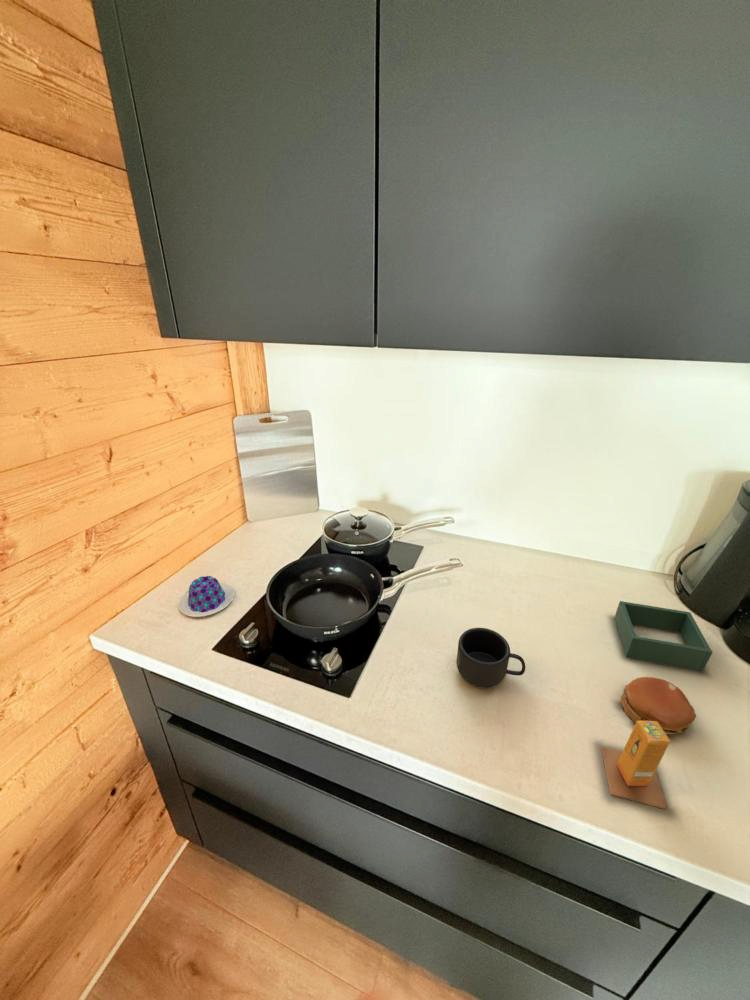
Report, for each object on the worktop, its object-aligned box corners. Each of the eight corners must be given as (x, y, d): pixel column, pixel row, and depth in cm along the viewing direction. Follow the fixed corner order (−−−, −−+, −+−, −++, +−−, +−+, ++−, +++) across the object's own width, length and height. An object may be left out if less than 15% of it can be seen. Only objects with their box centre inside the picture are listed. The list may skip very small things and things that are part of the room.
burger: (616, 717, 70) (624, 698, 68) (625, 680, 77) (632, 662, 75) (687, 752, 65) (698, 732, 63) (690, 709, 72) (700, 690, 70)
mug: (451, 685, 76) (454, 657, 73) (459, 649, 84) (462, 622, 80) (521, 704, 73) (527, 675, 69) (522, 665, 80) (528, 637, 77)
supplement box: (651, 787, 60) (673, 742, 56) (626, 787, 60) (646, 742, 56) (638, 763, 63) (658, 719, 59) (615, 763, 63) (633, 719, 59)
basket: (682, 630, 88) (690, 612, 86) (703, 672, 79) (712, 652, 76) (613, 619, 91) (619, 600, 89) (625, 657, 82) (632, 638, 79)
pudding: (205, 580, 104) (200, 562, 102) (245, 591, 100) (242, 573, 98) (167, 611, 94) (161, 592, 92) (210, 625, 90) (205, 606, 88)
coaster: (651, 760, 64) (652, 758, 64) (666, 809, 58) (667, 808, 58) (601, 748, 66) (601, 746, 65) (610, 794, 60) (611, 793, 59)
